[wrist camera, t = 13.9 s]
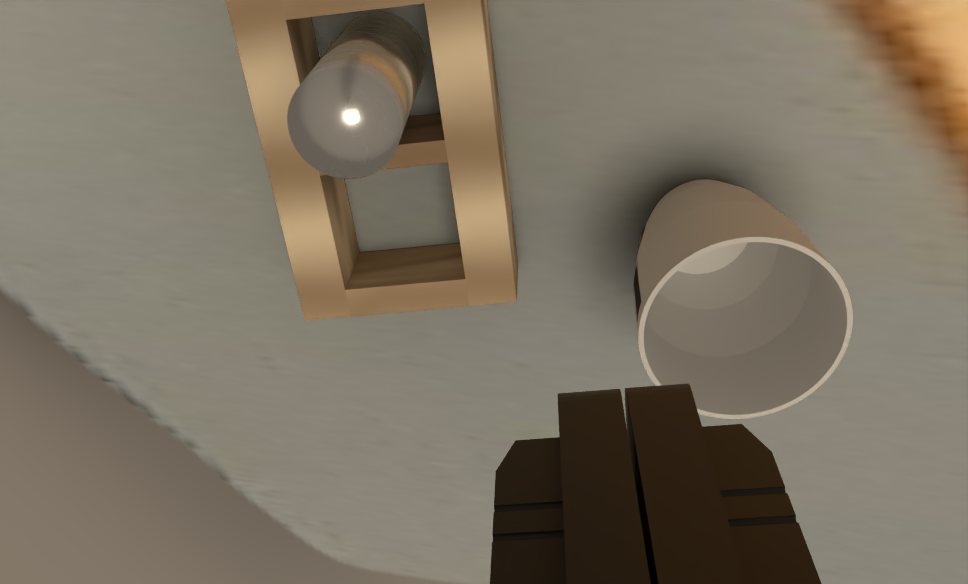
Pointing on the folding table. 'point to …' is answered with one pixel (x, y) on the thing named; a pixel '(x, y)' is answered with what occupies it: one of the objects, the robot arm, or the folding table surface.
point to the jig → (387, 166)
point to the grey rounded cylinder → (358, 97)
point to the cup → (736, 302)
